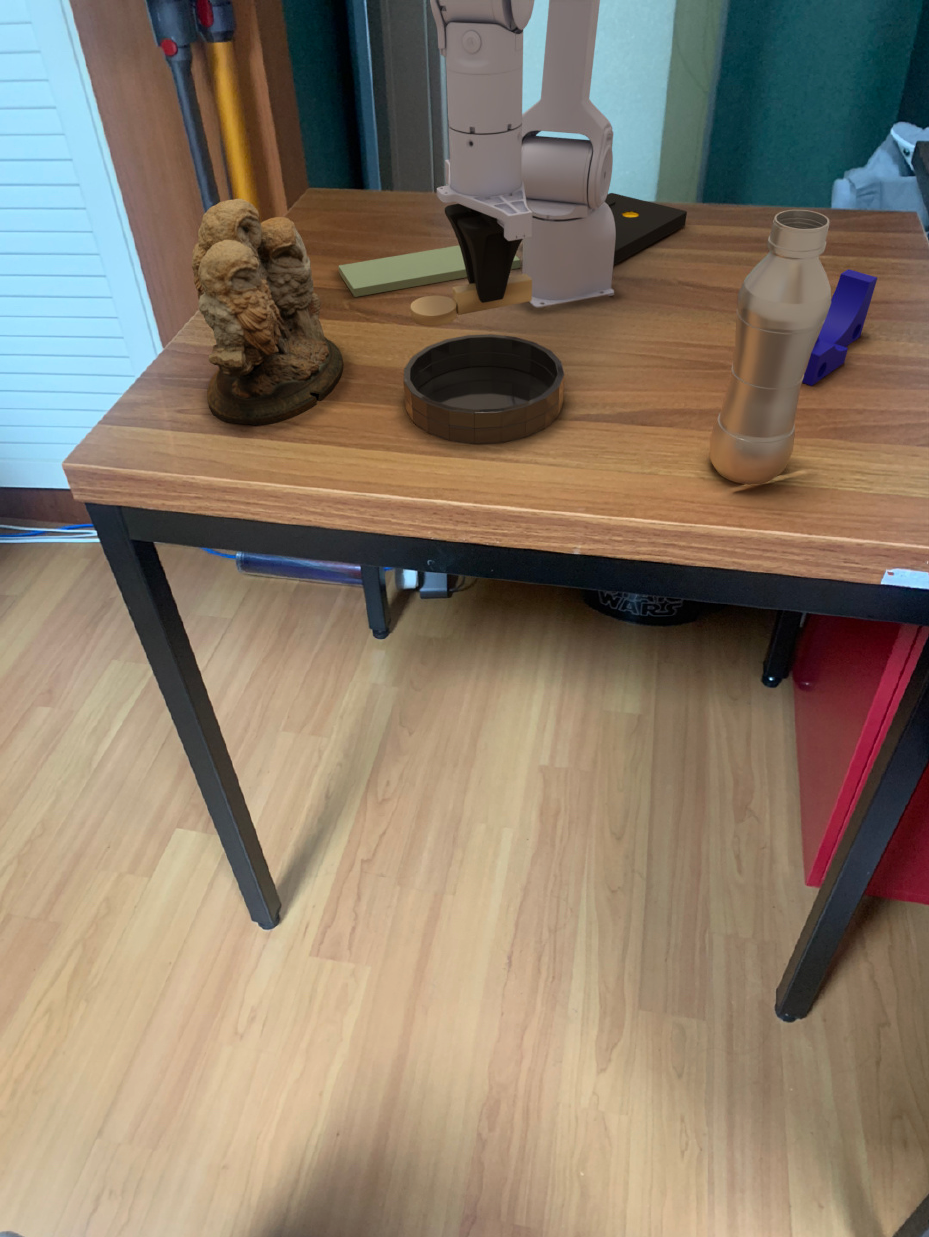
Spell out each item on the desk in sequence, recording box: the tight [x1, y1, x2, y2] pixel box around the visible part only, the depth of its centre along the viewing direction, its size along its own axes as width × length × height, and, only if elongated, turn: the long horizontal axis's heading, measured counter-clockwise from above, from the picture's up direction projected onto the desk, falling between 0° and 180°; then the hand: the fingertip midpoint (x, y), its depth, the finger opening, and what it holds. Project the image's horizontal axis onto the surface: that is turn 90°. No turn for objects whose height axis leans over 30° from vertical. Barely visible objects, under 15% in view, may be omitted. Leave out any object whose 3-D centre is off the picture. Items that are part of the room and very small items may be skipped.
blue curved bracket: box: [802, 268, 878, 387], centre depth 85 cm, size 12×4×6 cm, turn 134°
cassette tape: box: [605, 192, 688, 266], centre depth 109 cm, size 18×12×2 cm, turn 138°
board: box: [338, 244, 521, 298], centre depth 104 cm, size 20×7×1 cm, turn 110°
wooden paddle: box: [409, 273, 532, 327], centre depth 78 cm, size 11×4×2 cm, turn 110°
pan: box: [403, 333, 565, 445], centre depth 80 cm, size 14×14×4 cm
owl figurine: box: [191, 198, 344, 427], centre depth 79 cm, size 18×12×17 cm, turn 169°
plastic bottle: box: [709, 209, 832, 486], centre depth 66 cm, size 6×7×20 cm
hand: (487, 295), depth 78 cm, fingers closed on wooden paddle, 1 cm apart
